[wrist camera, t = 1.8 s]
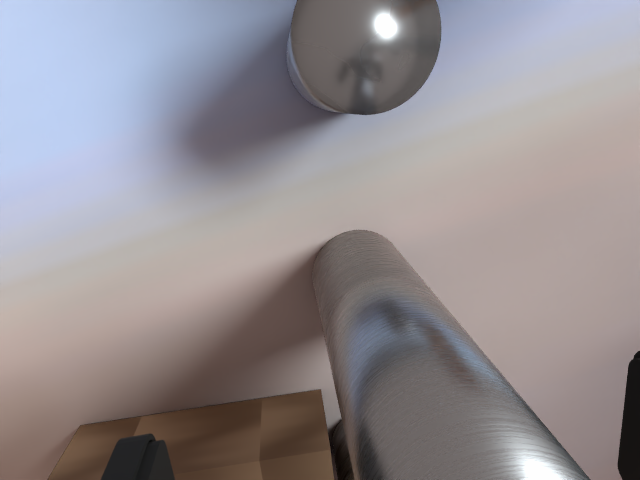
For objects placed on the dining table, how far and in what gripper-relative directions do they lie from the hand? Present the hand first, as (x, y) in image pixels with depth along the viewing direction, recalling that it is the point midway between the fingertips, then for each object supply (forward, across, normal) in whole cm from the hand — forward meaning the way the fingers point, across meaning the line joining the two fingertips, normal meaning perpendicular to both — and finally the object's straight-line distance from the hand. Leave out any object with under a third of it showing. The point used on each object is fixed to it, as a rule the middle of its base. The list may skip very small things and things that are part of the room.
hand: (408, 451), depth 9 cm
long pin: (+9, -1, 0) cm, 9 cm away
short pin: (+9, -1, -8) cm, 12 cm away
